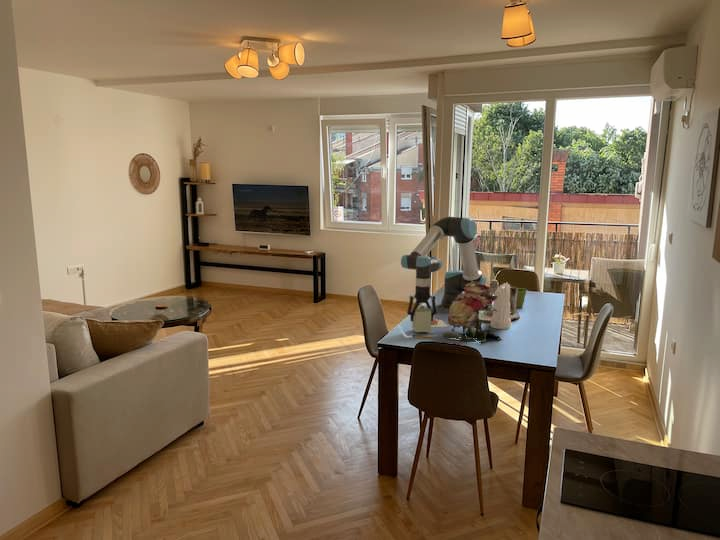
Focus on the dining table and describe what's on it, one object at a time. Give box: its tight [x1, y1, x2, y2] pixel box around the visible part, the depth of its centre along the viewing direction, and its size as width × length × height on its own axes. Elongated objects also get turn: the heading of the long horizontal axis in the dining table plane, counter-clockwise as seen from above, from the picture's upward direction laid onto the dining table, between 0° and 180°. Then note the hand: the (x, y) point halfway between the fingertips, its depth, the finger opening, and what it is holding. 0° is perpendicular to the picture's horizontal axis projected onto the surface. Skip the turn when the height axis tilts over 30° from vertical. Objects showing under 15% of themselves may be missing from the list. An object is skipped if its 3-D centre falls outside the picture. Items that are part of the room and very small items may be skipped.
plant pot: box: [516, 288, 528, 309], centre depth 341 cm, size 12×12×11 cm
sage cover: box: [411, 305, 432, 333], centre depth 281 cm, size 8×8×13 cm
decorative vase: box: [490, 282, 512, 330], centre depth 295 cm, size 11×11×25 cm
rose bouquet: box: [443, 281, 502, 345], centre depth 274 cm, size 26×29×30 cm
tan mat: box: [412, 334, 436, 340], centre depth 282 cm, size 16×11×1 cm
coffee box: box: [510, 285, 518, 314], centre depth 327 cm, size 9×6×16 cm
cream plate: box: [431, 317, 449, 328], centre depth 298 cm, size 13×13×3 cm
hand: (421, 326), depth 282 cm, fingers open, 8 cm apart
